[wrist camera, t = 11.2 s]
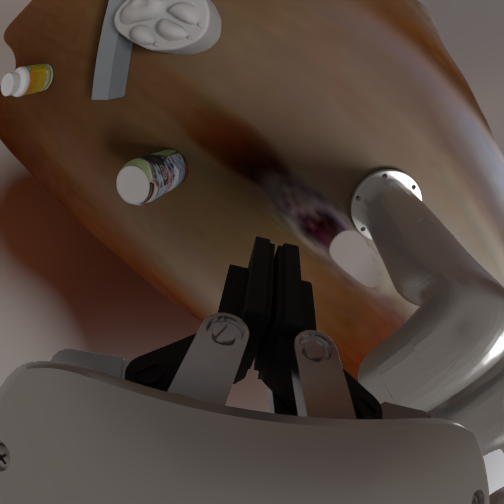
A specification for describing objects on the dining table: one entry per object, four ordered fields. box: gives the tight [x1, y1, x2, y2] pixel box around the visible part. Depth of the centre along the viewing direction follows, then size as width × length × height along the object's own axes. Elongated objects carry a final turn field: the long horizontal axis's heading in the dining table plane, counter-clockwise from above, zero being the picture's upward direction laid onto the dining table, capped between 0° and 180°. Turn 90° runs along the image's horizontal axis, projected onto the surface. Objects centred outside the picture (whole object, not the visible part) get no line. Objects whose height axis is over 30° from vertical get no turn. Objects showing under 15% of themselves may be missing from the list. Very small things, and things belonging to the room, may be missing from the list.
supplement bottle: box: [1, 64, 53, 97], centre depth 29 cm, size 5×5×10 cm
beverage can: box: [117, 149, 188, 205], centre depth 37 cm, size 6×7×12 cm
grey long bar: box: [92, 0, 133, 100], centre depth 27 cm, size 3×24×5 cm, turn 168°
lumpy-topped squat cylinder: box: [114, 0, 221, 55], centre depth 26 cm, size 10×13×9 cm
